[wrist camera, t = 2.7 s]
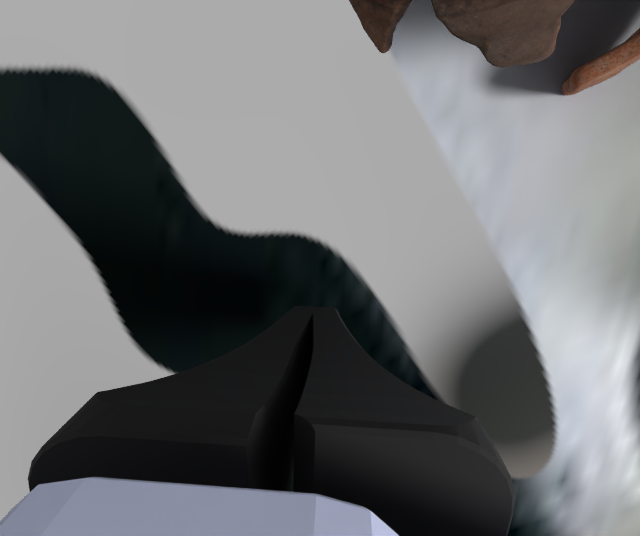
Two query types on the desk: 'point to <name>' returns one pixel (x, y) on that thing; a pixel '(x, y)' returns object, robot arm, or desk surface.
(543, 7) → the orange curved piece
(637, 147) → the desk surface
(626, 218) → the desk surface
